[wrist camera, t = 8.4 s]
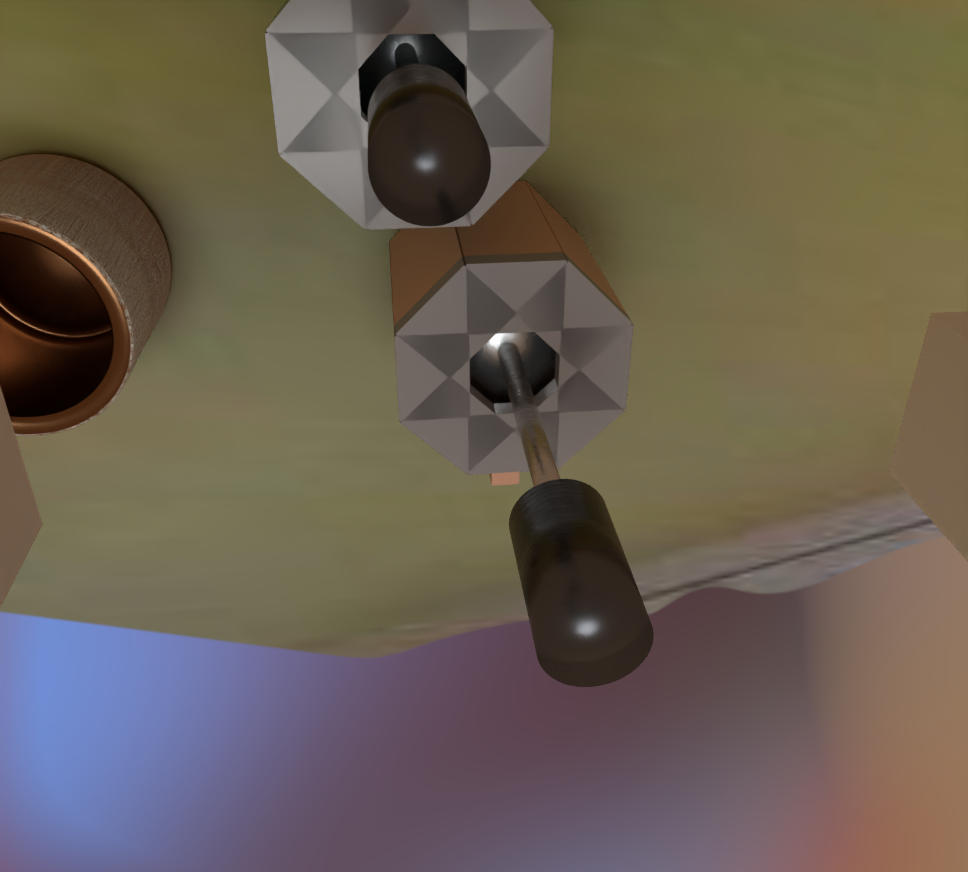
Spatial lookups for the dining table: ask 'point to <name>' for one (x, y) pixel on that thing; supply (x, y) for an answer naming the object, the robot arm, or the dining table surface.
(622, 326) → the pot terracotta
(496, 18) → the pot teal
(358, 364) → the dining table surface
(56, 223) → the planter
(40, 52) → the dining table surface
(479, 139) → the dark brown cylinder-topped rod
